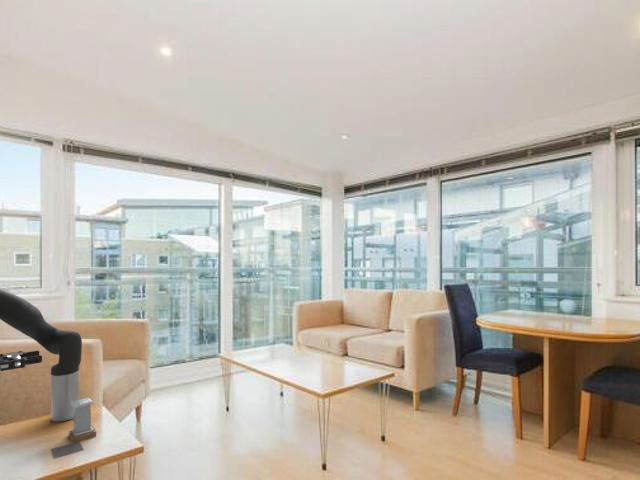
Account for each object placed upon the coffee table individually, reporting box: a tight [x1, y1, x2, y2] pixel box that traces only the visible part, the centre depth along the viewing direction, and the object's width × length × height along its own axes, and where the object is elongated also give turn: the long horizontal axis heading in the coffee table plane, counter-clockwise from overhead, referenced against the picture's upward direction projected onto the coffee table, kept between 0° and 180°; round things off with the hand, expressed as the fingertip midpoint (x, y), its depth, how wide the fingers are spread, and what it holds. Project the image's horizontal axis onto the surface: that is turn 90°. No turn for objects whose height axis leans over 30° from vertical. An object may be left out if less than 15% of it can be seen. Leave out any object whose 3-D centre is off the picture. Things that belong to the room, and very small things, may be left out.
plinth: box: [68, 424, 97, 443], centre depth 137 cm, size 7×7×2 cm
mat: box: [50, 440, 85, 460], centre depth 127 cm, size 8×8×1 cm
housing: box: [70, 397, 94, 437], centre depth 137 cm, size 6×6×10 cm
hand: (40, 356), depth 130 cm, fingers open, 8 cm apart
